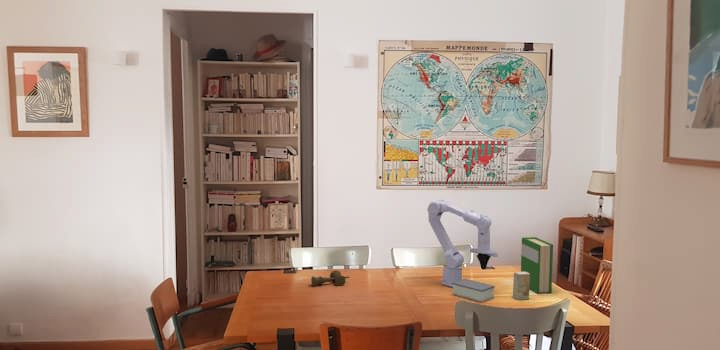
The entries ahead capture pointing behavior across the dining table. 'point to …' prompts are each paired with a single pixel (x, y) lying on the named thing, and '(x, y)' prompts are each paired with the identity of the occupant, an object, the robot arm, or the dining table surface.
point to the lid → (473, 285)
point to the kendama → (330, 279)
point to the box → (473, 293)
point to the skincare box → (521, 285)
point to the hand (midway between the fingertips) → (483, 269)
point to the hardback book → (537, 263)
